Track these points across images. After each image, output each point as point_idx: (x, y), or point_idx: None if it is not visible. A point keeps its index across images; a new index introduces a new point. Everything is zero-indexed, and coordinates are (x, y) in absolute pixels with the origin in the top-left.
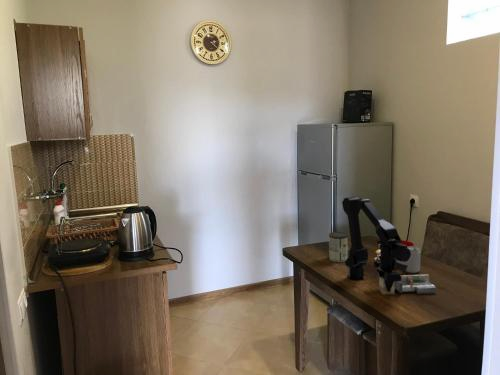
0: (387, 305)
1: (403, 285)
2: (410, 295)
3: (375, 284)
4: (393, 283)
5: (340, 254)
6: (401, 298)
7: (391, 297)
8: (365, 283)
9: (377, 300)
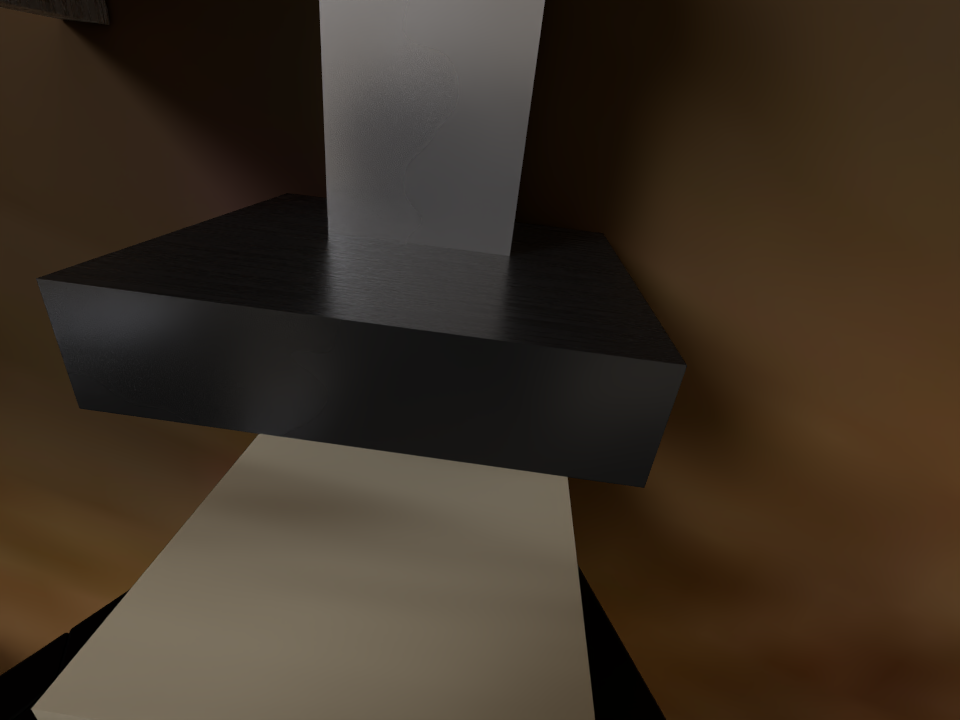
0: (932, 686)
1: (343, 62)
2: (798, 38)
3: (71, 505)
4: (577, 682)
5: None
6: (833, 380)
7: (692, 522)
8: (59, 605)
9: (703, 710)
